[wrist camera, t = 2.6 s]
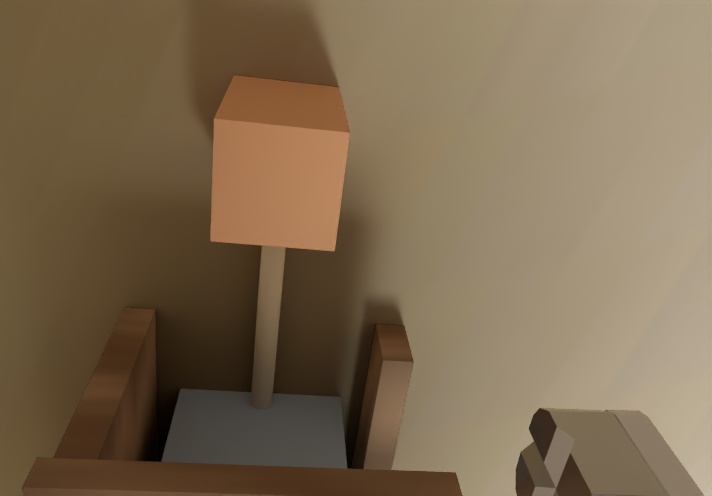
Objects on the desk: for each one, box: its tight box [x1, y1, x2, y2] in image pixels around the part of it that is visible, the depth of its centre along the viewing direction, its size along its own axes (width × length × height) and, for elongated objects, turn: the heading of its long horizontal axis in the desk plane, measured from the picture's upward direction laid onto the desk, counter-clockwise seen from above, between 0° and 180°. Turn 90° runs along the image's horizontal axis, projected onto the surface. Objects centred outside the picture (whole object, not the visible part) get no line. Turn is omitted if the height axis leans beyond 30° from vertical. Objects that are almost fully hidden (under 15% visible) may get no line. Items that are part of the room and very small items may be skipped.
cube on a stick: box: [161, 75, 350, 469], centre depth 24 cm, size 21×7×6 cm, turn 173°
